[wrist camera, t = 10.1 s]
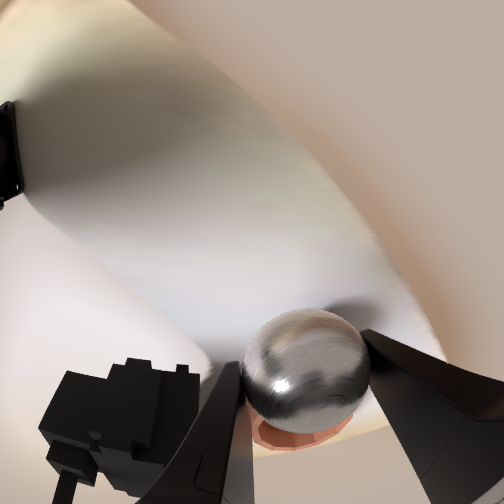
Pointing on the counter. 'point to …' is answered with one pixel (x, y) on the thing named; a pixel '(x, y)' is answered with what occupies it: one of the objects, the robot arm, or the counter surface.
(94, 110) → the counter surface
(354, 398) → the steel ball
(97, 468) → the toy
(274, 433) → the dish
